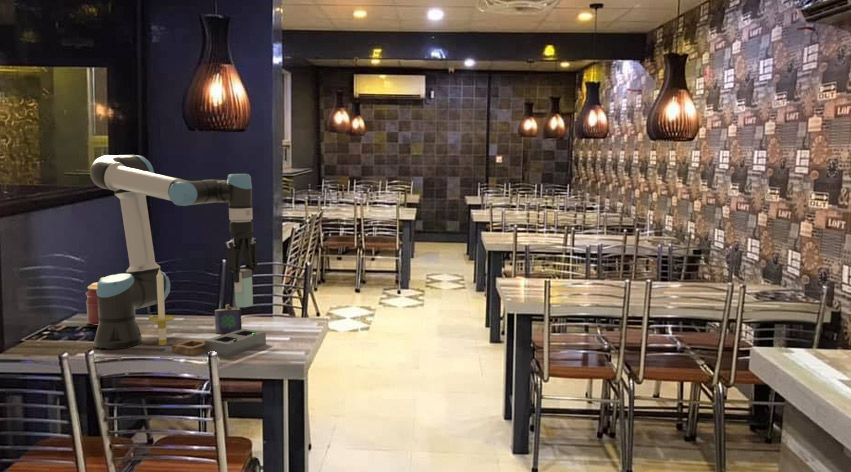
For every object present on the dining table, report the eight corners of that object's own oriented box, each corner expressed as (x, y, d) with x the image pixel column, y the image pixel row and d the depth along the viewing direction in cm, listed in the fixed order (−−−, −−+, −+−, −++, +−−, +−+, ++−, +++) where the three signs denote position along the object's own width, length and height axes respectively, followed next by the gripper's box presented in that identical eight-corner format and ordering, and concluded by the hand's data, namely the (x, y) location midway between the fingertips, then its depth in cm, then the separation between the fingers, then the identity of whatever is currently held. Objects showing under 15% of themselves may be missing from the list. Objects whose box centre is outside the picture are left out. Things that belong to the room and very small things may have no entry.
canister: (86, 327, 278) (83, 281, 276) (88, 320, 290) (85, 275, 288) (123, 324, 282) (121, 278, 280) (123, 317, 294) (121, 273, 292)
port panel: (205, 355, 240) (204, 339, 239) (243, 342, 256) (243, 327, 255) (228, 359, 235) (227, 343, 234) (266, 346, 251) (265, 330, 250)
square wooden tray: (172, 354, 241) (171, 345, 241) (193, 347, 249) (192, 339, 249) (192, 357, 237) (191, 348, 237) (212, 351, 245) (212, 342, 245)
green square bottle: (235, 306, 246) (234, 270, 245) (243, 303, 250) (242, 268, 249) (244, 307, 245) (243, 271, 243) (253, 305, 248) (251, 269, 247)
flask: (215, 335, 266) (214, 305, 265) (215, 333, 269) (214, 304, 268) (241, 333, 269) (241, 304, 267) (241, 331, 271) (240, 303, 270)
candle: (155, 342, 257) (152, 265, 253) (183, 342, 256) (180, 265, 252) (141, 349, 247) (137, 270, 244) (170, 350, 246) (167, 270, 243)
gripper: (231, 223, 235) (233, 296, 237) (267, 219, 250) (269, 287, 252) (213, 222, 238) (216, 294, 241) (250, 218, 253) (252, 285, 256)
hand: (243, 290), depth 247 cm, fingers closed on green square bottle, 4 cm apart
